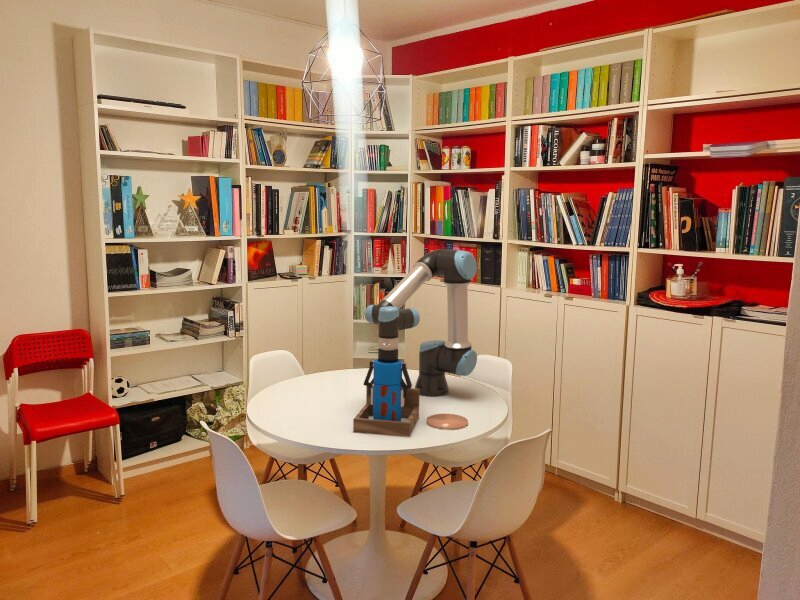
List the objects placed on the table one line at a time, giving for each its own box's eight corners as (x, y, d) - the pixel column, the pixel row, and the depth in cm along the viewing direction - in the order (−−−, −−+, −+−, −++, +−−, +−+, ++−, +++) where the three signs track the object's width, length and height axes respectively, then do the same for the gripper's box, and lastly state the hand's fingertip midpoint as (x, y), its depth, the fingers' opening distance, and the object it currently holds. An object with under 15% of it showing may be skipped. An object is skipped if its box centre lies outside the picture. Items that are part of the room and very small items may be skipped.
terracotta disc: (429, 414, 258) (429, 412, 258) (469, 417, 255) (469, 415, 255) (423, 428, 242) (423, 425, 242) (465, 431, 239) (465, 428, 239)
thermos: (379, 418, 252) (380, 356, 248) (405, 422, 248) (406, 359, 244) (368, 427, 242) (369, 362, 238) (394, 431, 238) (395, 365, 234)
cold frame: (367, 414, 257) (367, 385, 255) (418, 418, 253) (419, 388, 251) (353, 432, 237) (353, 400, 235) (409, 436, 233) (409, 404, 231)
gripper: (355, 348, 239) (355, 405, 242) (417, 352, 235) (416, 410, 238) (360, 344, 246) (360, 399, 250) (420, 347, 242) (419, 404, 245)
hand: (387, 404), depth 244 cm, fingers closed on thermos, 11 cm apart
